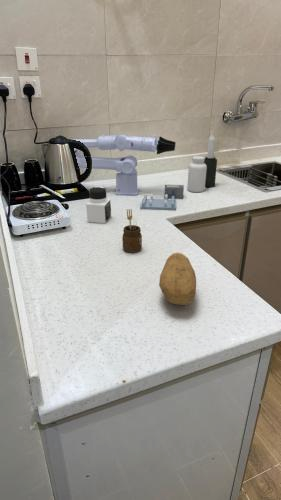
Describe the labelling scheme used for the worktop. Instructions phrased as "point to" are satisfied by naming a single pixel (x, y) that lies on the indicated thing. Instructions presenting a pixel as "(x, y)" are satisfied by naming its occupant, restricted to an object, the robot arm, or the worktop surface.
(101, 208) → the medicine bottle
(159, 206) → the tray
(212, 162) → the candle
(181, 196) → the block
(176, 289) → the potato
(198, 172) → the pill bottle
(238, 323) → the worktop surface
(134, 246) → the utensil holder
